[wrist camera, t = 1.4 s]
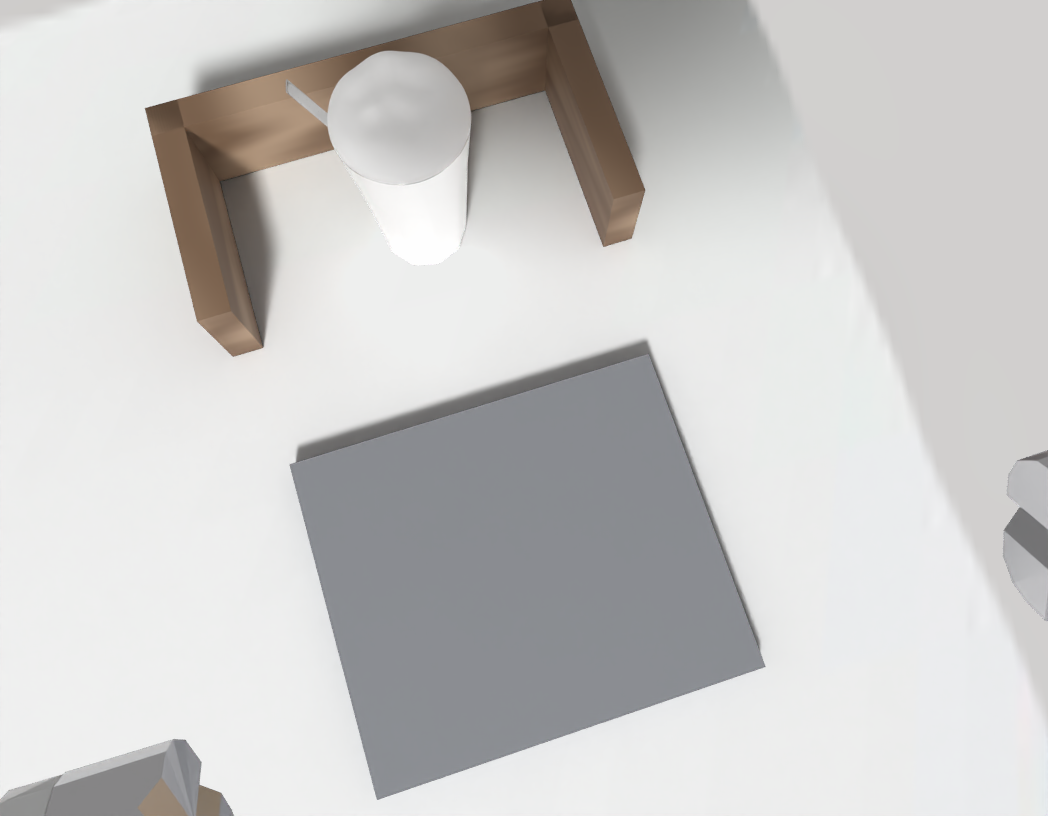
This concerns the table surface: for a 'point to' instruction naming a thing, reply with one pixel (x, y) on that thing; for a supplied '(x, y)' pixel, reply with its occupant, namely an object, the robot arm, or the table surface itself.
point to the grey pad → (519, 573)
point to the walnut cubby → (293, 133)
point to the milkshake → (404, 148)
